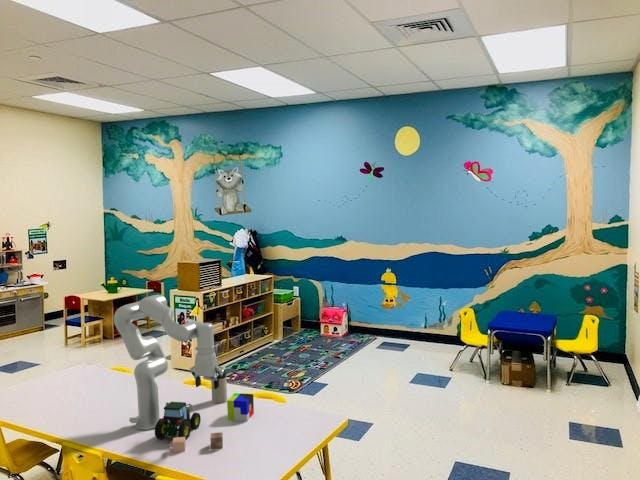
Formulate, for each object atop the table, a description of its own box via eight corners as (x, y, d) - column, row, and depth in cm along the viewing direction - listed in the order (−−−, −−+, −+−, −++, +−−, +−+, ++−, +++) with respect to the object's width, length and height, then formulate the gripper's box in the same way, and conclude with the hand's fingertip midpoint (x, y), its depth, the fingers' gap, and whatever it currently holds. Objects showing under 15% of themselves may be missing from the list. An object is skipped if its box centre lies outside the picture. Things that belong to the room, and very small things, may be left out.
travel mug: (229, 398, 287) (228, 366, 286) (224, 403, 279) (222, 370, 278) (215, 397, 289) (214, 365, 287) (209, 403, 281) (208, 370, 280)
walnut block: (210, 449, 226) (210, 438, 226) (211, 444, 231) (210, 433, 231) (222, 448, 227) (222, 437, 227) (222, 443, 232) (222, 432, 231)
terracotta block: (172, 454, 224) (172, 442, 224) (174, 448, 229) (173, 437, 229) (184, 453, 225) (184, 441, 225) (185, 447, 230) (185, 436, 230)
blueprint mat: (197, 456, 222) (197, 454, 222) (199, 443, 234) (198, 442, 234) (230, 452, 224) (230, 451, 224) (230, 440, 236) (230, 439, 236)
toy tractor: (203, 425, 253) (201, 395, 252) (181, 446, 232) (180, 413, 231) (175, 423, 256) (174, 393, 255) (152, 443, 235) (151, 411, 234)
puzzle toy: (247, 421, 256) (246, 401, 256) (227, 420, 258) (227, 400, 258) (253, 413, 266) (253, 394, 265) (235, 412, 268) (234, 393, 267)
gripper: (184, 351, 239) (186, 388, 240) (217, 354, 233) (219, 391, 234) (194, 347, 246) (196, 382, 247) (226, 349, 240) (228, 386, 241)
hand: (207, 387), depth 241 cm, fingers open, 9 cm apart
